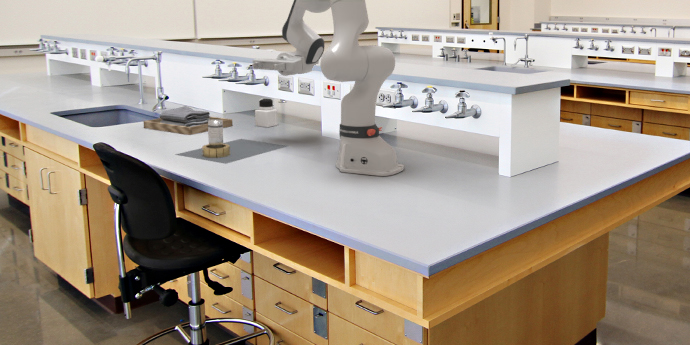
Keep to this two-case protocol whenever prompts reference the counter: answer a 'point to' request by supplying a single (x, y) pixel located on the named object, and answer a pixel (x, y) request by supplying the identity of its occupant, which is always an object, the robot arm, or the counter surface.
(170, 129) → the towel frame
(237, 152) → the bench mat
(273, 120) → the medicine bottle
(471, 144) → the counter surface
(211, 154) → the brass ring collar
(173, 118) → the towel
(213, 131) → the clear lidded jar
